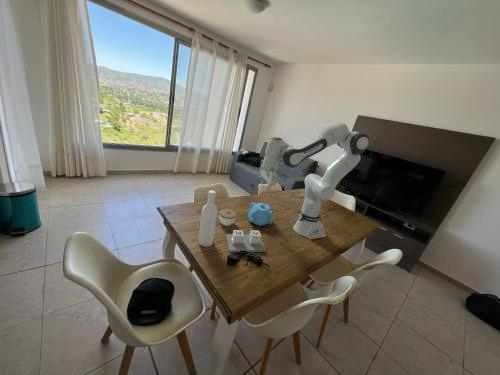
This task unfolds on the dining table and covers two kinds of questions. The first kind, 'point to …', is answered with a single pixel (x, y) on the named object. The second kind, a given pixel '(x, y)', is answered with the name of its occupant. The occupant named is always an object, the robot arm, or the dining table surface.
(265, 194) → the dining table surface
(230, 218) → the lidded jar
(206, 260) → the dining table surface
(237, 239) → the seated sleeve
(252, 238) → the sleeve
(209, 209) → the bottle
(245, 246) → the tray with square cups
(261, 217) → the decorative pot
